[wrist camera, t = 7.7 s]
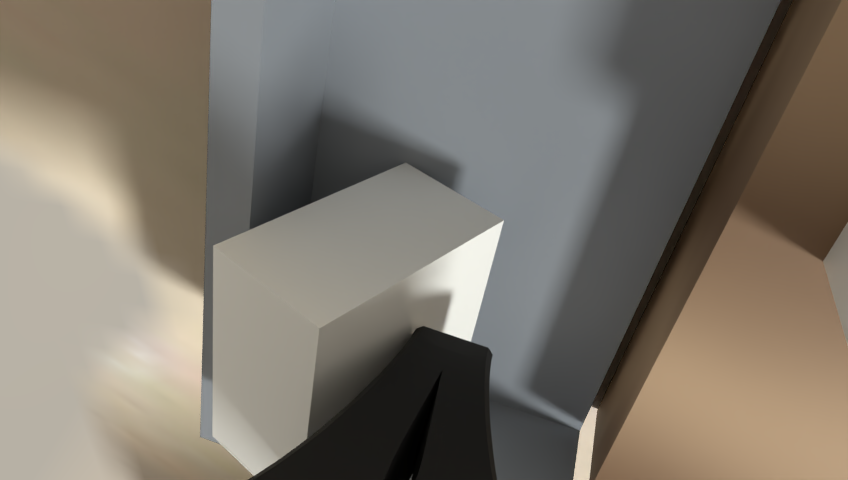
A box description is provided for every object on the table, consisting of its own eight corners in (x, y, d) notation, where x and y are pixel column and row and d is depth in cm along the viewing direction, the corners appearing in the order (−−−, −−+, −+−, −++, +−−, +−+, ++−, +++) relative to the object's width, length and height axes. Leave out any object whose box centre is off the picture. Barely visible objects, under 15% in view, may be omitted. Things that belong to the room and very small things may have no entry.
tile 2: (298, 518, 13) (212, 436, 14) (457, 392, 16) (376, 331, 17) (319, 328, 11) (212, 245, 12) (503, 220, 14) (406, 162, 15)
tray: (572, 434, 18) (553, 564, 15) (271, 331, 19) (200, 436, 16) (883, -242, 10) (967, -236, 7) (340, -367, 11) (221, -406, 8)
